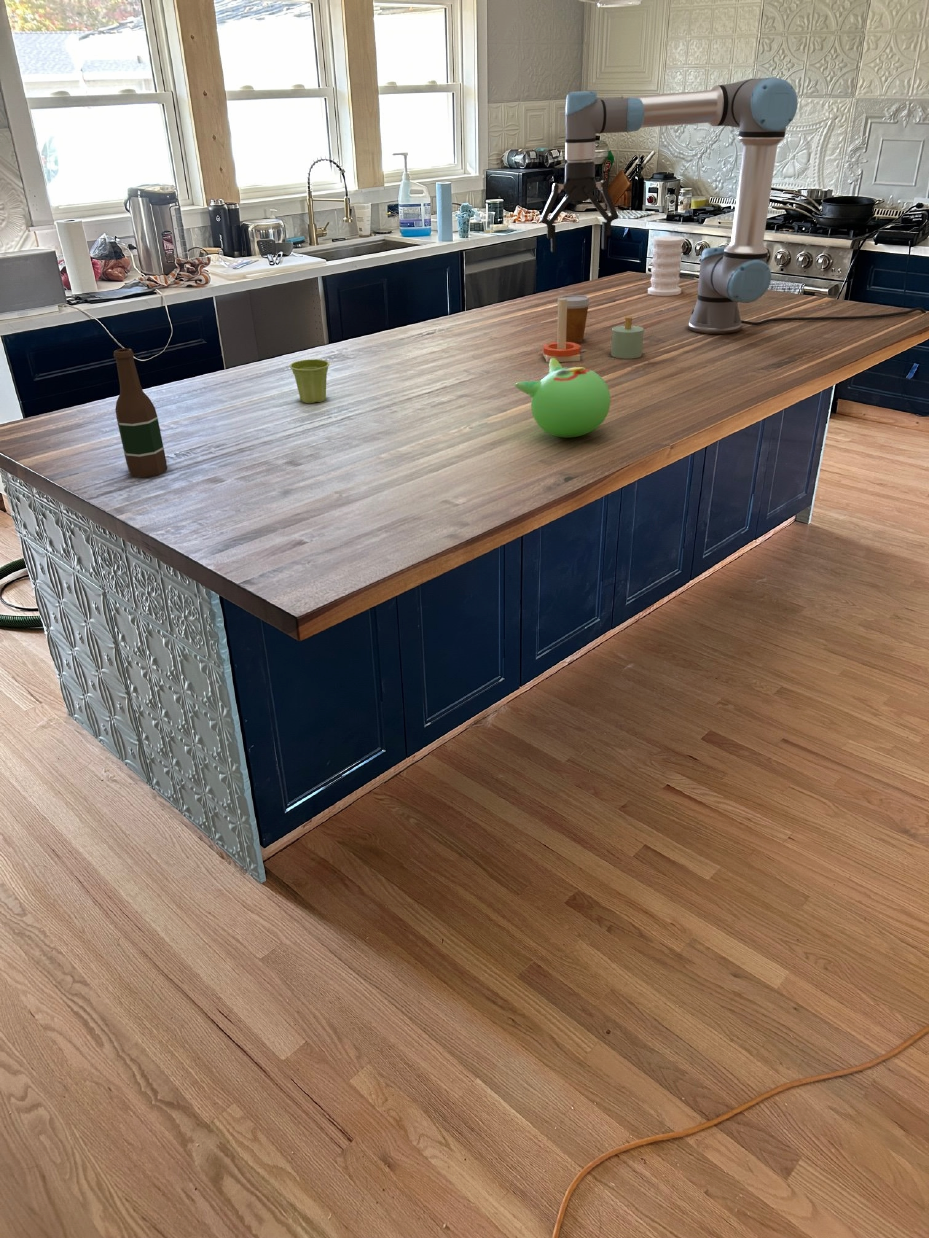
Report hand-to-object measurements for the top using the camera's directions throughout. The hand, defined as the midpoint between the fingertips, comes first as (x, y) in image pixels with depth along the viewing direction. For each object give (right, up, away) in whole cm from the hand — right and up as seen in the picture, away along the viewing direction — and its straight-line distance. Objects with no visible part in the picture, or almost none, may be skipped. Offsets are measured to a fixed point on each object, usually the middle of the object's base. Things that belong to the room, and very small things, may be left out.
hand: (578, 250), depth 244 cm
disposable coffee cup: (+1, -17, +25) cm, 30 cm away
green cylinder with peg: (+14, -25, +9) cm, 30 cm away
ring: (-4, -25, +7) cm, 26 cm away
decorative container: (+41, +18, +83) cm, 94 cm away
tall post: (-4, -26, +8) cm, 28 cm away
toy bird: (-8, -58, -48) cm, 76 cm away
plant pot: (-67, -45, -20) cm, 83 cm away
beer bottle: (-94, -68, -60) cm, 130 cm away
